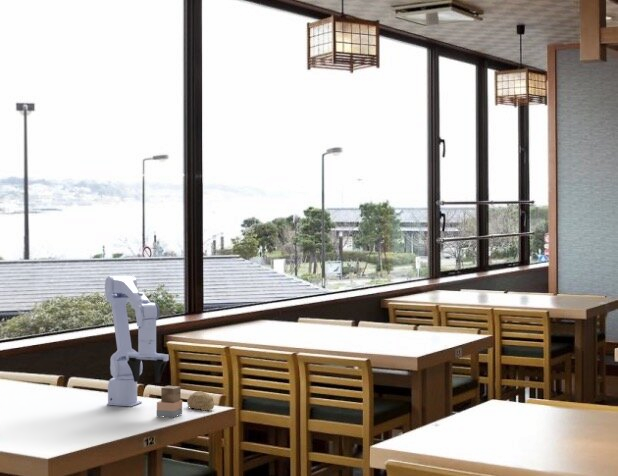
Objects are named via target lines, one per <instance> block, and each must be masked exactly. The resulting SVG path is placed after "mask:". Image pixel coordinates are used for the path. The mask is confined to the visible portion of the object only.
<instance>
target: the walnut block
mask: <svg viewBox="0 0 618 476" xmlns="http://www.w3.org/2000/svg"><path fill="white" fill-rule="evenodd" d="M160 390H161V391H160V392H161V398H160V401H161V402H170V403H175V402H178V401H180V400H181V395H182V394H181V386H178V385H177V386H176V385H174V386H173V385H165V386H162V387H161V389H160Z"/></svg>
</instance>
